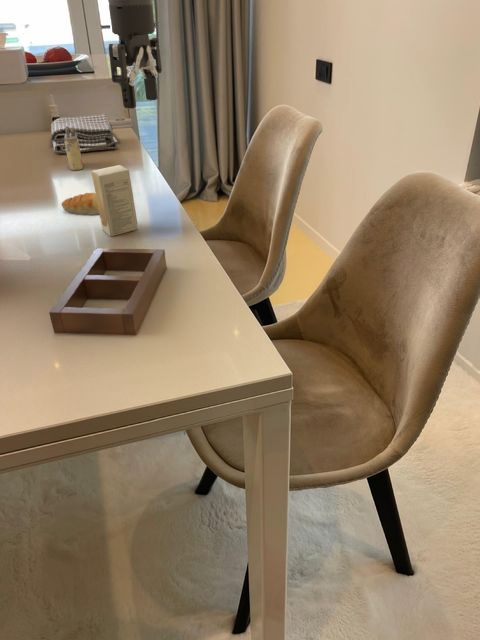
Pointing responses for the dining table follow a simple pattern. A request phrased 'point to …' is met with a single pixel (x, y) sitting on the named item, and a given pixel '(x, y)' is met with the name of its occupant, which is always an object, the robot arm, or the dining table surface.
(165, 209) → the dining table surface
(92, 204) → the pastry
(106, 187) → the cosmetic box
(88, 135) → the towel
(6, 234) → the dining table surface
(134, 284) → the stand
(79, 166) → the pale yellow bottle
